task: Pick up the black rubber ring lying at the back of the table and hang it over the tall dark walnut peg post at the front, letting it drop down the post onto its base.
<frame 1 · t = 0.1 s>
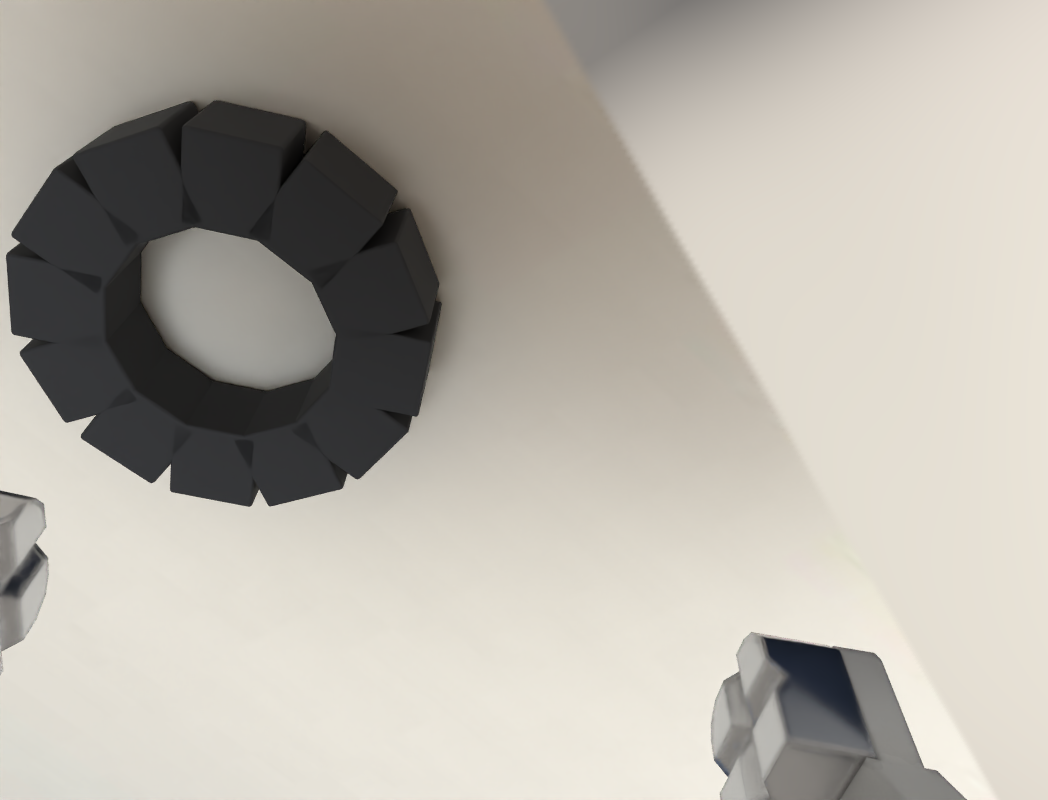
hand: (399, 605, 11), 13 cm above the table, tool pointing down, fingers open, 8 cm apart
ring: (246, 298, 24), on the table
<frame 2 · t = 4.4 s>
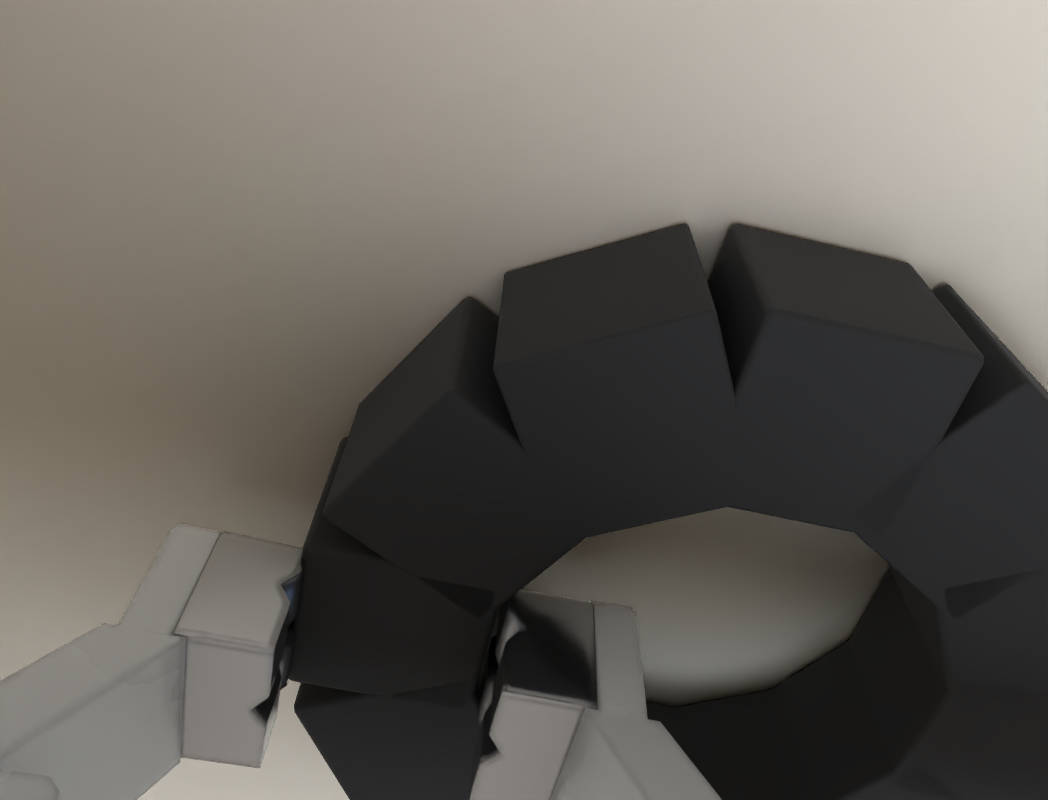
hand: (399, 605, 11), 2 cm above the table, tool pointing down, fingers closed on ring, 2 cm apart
ring: (685, 567, 13), on the table, touching gripper
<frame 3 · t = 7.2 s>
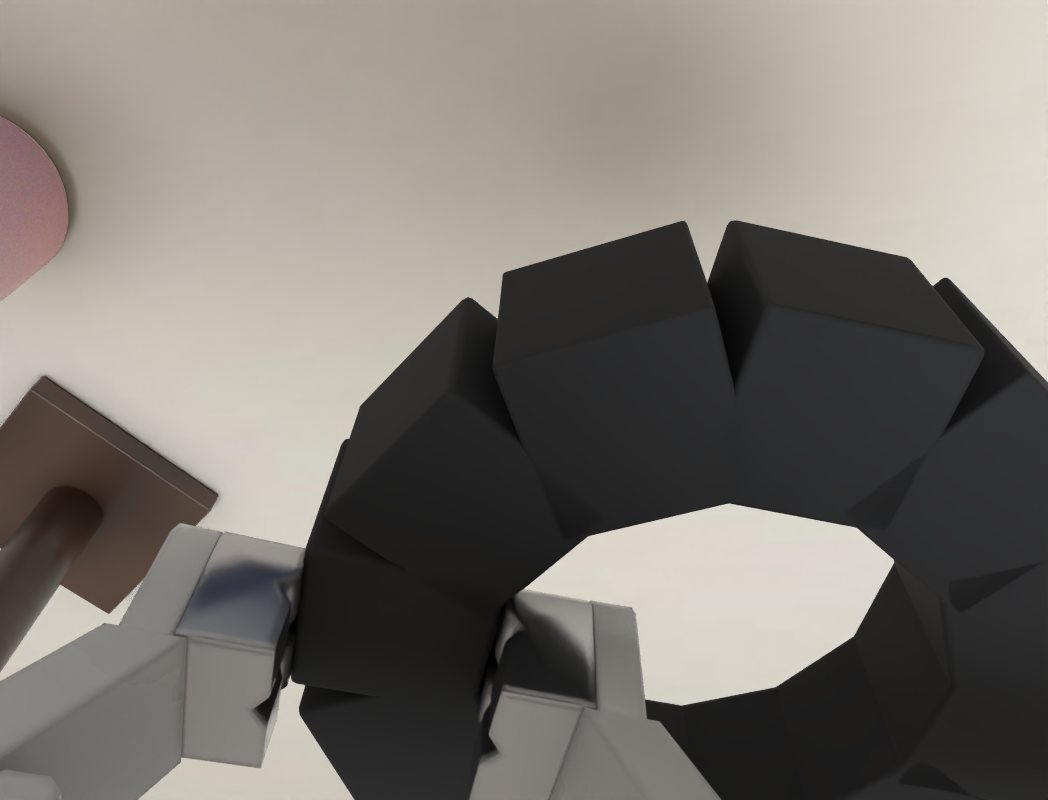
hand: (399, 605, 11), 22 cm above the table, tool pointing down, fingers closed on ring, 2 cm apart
ring: (689, 565, 13), point 21 cm above the table, touching gripper
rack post: (83, 495, 39), on the table
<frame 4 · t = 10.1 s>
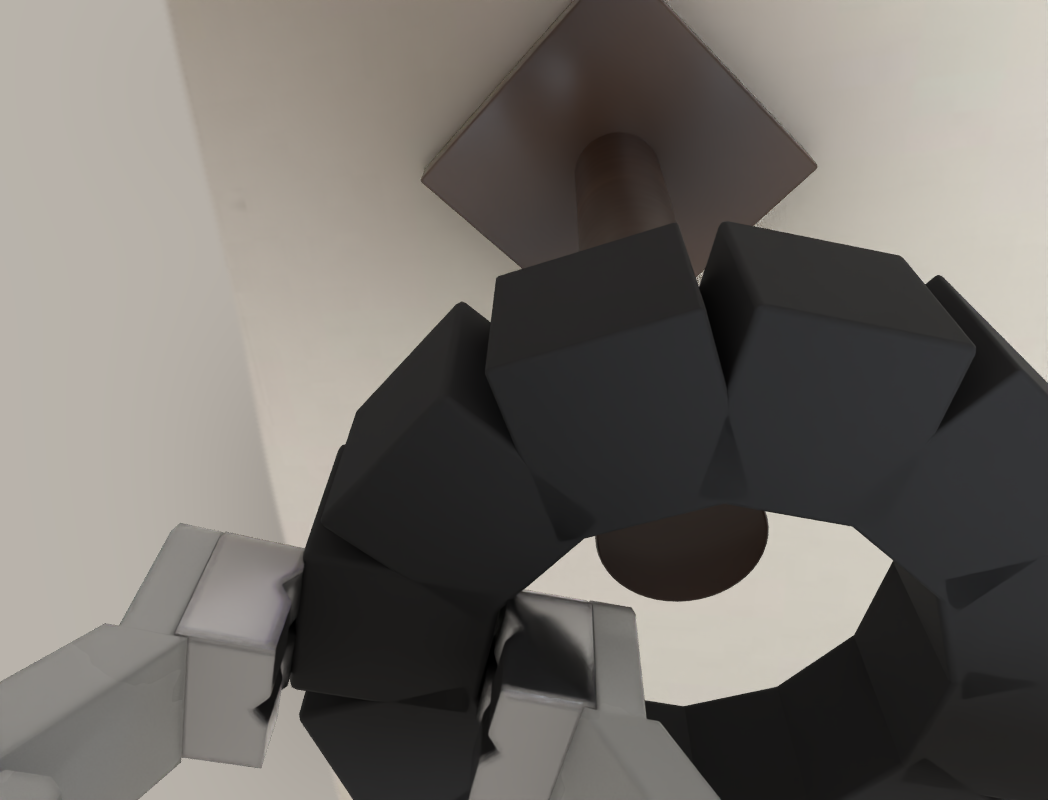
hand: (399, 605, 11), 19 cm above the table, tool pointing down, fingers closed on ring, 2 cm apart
ring: (688, 565, 13), point 18 cm above the table, touching gripper
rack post: (615, 163, 28), on the table
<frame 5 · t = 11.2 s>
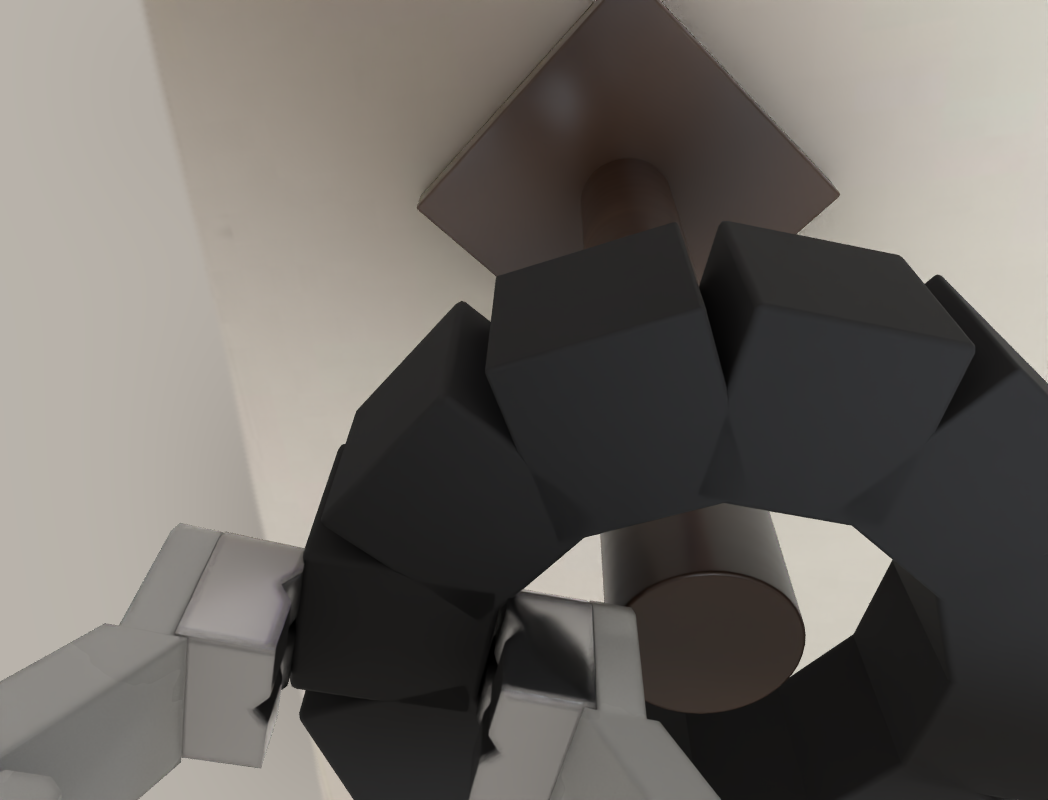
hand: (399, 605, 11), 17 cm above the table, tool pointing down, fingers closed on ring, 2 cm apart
ring: (687, 565, 13), point 16 cm above the table, touching gripper
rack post: (623, 189, 26), on the table
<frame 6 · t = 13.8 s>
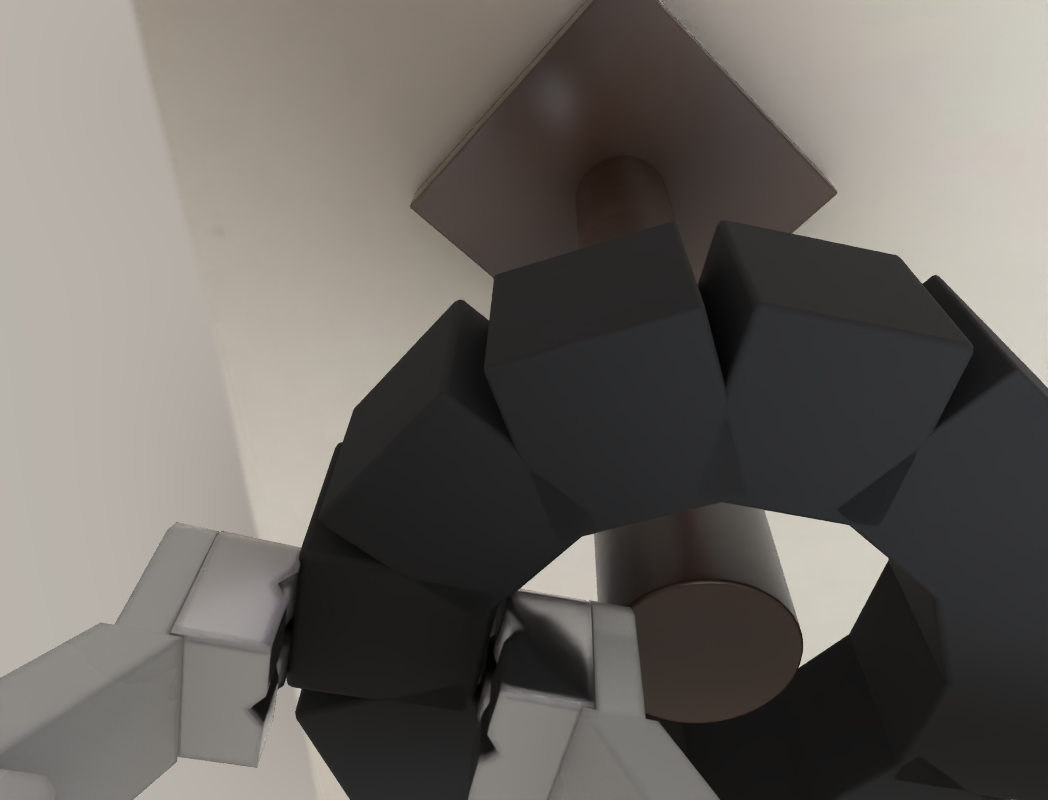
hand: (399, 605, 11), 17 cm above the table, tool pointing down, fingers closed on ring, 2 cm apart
ring: (684, 564, 13), point 15 cm above the table, touching gripper
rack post: (619, 188, 26), on the table
when the fingers open (18 cm above the table, at t = 15.8 s): ring drops 16 cm, resting on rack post.
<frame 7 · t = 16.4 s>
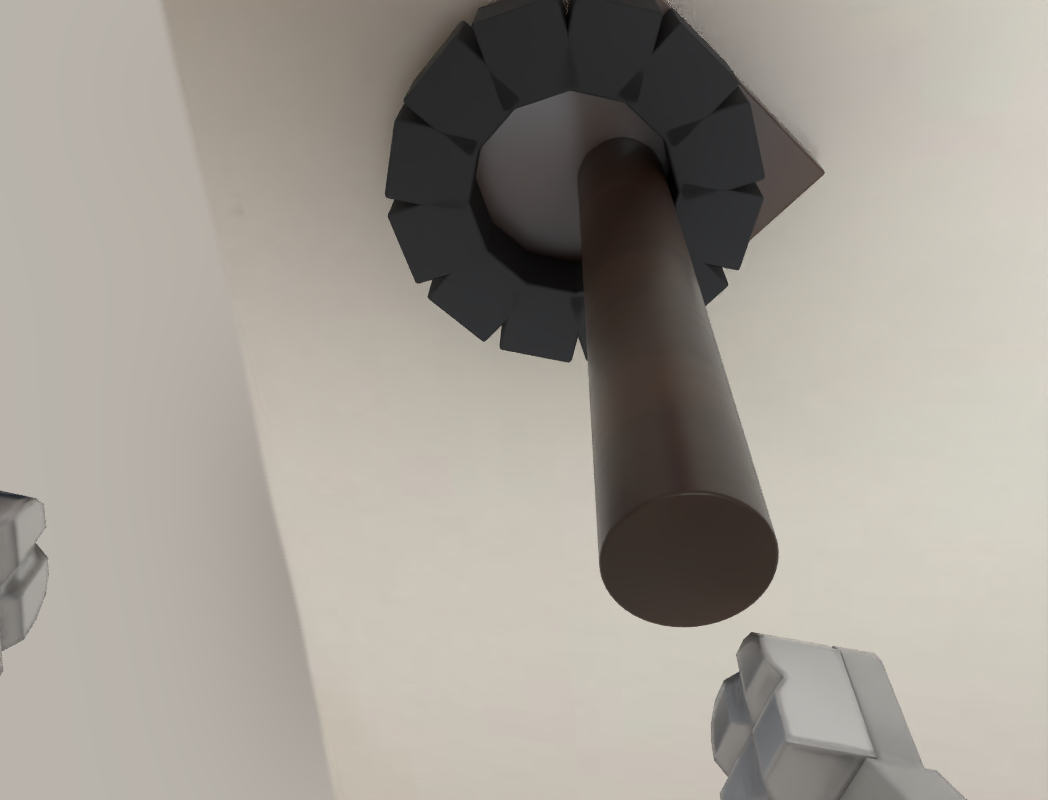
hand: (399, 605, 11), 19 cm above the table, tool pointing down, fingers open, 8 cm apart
ring: (572, 171, 26), point 1 cm above the table, touching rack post
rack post: (618, 169, 27), on the table
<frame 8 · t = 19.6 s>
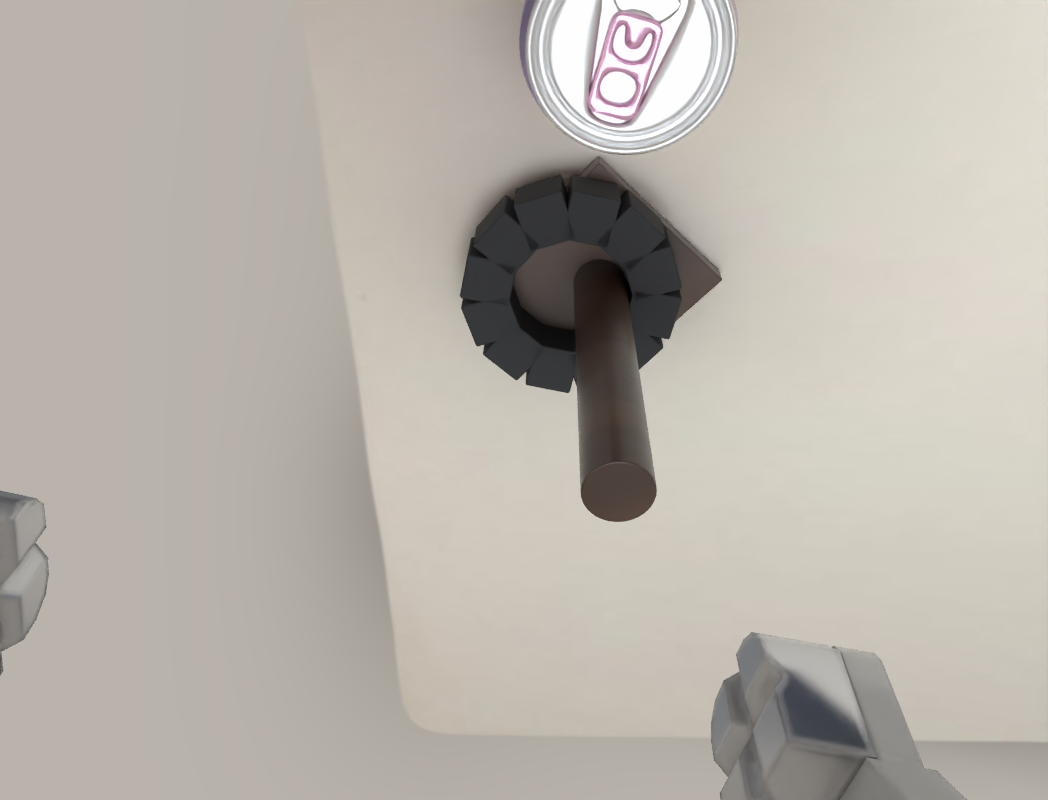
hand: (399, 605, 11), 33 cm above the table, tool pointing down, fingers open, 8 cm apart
ring: (570, 277, 44), point 1 cm above the table, touching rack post
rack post: (598, 274, 45), on the table
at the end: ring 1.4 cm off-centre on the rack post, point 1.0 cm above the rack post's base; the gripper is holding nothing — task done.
